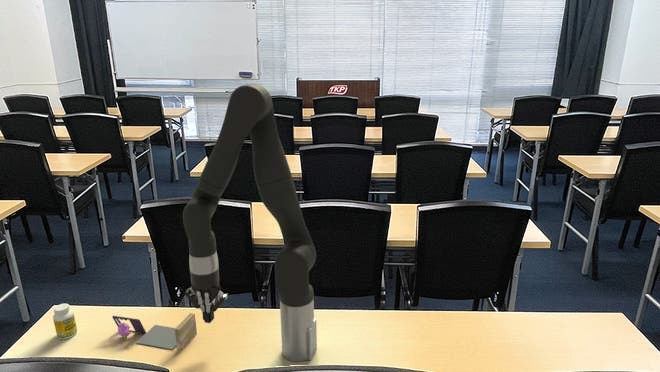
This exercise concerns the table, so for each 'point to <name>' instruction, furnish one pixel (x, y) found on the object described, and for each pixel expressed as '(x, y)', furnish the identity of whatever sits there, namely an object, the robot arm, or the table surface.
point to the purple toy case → (124, 327)
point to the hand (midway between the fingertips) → (208, 321)
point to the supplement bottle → (64, 321)
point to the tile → (185, 331)
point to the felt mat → (159, 337)
